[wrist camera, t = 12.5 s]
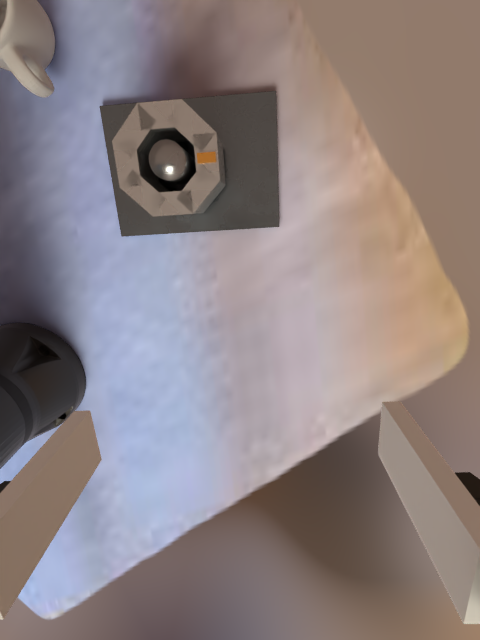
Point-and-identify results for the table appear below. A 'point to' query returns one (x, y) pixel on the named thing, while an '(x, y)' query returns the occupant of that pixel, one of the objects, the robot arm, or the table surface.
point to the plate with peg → (239, 163)
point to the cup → (27, 44)
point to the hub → (179, 126)
